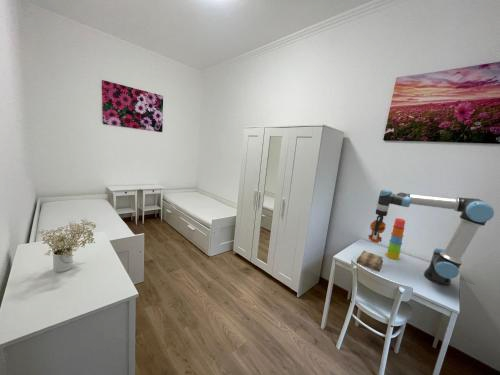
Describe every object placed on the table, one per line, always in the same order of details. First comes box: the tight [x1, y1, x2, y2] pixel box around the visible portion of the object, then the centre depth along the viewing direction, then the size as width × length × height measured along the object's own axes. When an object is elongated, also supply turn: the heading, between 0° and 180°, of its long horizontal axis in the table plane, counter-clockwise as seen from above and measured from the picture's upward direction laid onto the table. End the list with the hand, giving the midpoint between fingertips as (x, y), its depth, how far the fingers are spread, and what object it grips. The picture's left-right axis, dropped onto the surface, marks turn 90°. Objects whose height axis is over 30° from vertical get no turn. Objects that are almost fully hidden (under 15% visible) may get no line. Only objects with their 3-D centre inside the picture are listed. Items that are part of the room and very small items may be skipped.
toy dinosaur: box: [367, 219, 386, 244], centre depth 167 cm, size 11×11×18 cm
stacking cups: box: [385, 217, 406, 260], centre depth 184 cm, size 10×10×35 cm
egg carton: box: [356, 250, 384, 273], centre depth 172 cm, size 16×16×6 cm
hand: (375, 236), depth 168 cm, fingers closed on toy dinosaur, 10 cm apart
